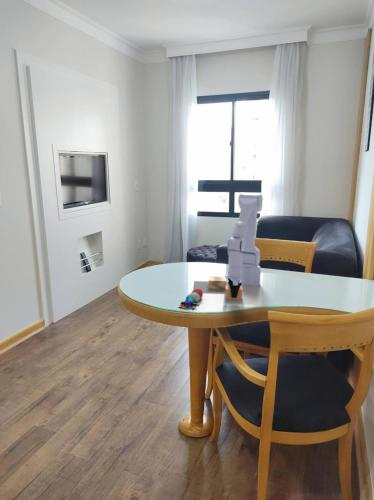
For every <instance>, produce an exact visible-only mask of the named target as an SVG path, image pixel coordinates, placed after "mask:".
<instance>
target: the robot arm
mask: <svg viewBox="0 0 374 500" xmlns="http://www.w3.org/2000/svg"><path fill="white" fill-rule="evenodd" d="M263 198H264V197H263V195H262V194H261V193H249V192H246V193H245V192H240V194H239V195H238V198H237V199H238V202H237V203H238V207H239V209H240V212H239V216H238V222H236V223H235V224H234V227H233V230H232V233H231V237H230V238H228V239H227V243H226V244H227V245H226V248H227V255H228V265H227V266H228V269H227V273H226V274H225V275H224V277H226V278H227V282H228V284H229V287H230V290H231V297H232V298H237V294H238V291H239V288H240V286H241V287H242V286H259V287H260V283H261V266H260V262H261V251H260V249H259V248H258V247H257V246H256V244H255V243H256V234H257V233H256V231H257V219H258V213H259V212H262V209H263V200H264V199H263Z"/></svg>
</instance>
